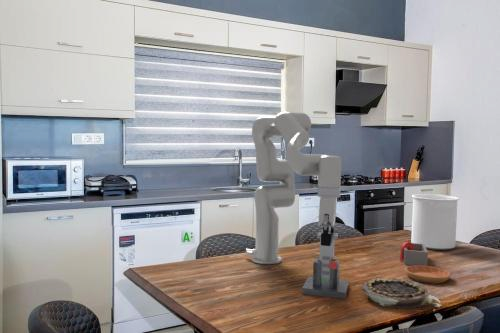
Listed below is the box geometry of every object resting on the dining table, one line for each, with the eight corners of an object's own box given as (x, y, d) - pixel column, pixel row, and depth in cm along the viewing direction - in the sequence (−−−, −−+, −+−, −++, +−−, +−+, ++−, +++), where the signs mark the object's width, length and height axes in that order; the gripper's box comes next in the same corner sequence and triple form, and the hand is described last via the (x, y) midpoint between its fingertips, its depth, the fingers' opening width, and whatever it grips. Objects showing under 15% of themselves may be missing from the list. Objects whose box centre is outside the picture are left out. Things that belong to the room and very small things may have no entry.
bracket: (408, 263, 195) (409, 244, 194) (399, 260, 198) (401, 242, 198) (427, 260, 201) (428, 242, 200) (418, 258, 205) (420, 240, 204)
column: (315, 285, 156) (317, 234, 155) (317, 281, 161) (318, 232, 160) (334, 287, 154) (336, 236, 153) (336, 282, 159) (337, 233, 158)
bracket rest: (404, 264, 193) (404, 250, 193) (402, 255, 208) (402, 242, 208) (427, 266, 191) (427, 252, 190) (423, 257, 206) (424, 243, 206)
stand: (302, 293, 153) (303, 260, 153) (308, 281, 167) (309, 250, 166) (345, 298, 150) (346, 264, 149) (348, 285, 163) (349, 254, 162)
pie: (459, 311, 142) (460, 295, 141) (380, 320, 134) (381, 303, 133) (404, 283, 168) (404, 270, 168) (335, 290, 161) (336, 275, 160)
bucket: (466, 252, 216) (469, 200, 215) (419, 251, 217) (422, 199, 215) (444, 240, 242) (446, 194, 241) (402, 239, 242) (404, 193, 241)
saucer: (448, 275, 180) (449, 267, 180) (452, 287, 165) (452, 279, 164) (405, 270, 185) (405, 263, 185) (404, 282, 170) (404, 274, 170)
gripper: (320, 189, 165) (319, 236, 166) (314, 194, 149) (312, 247, 150) (342, 190, 163) (340, 238, 164) (338, 195, 147) (336, 249, 148)
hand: (327, 242), depth 157 cm, fingers open, 9 cm apart
